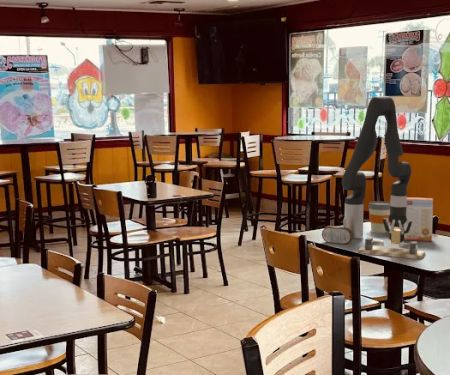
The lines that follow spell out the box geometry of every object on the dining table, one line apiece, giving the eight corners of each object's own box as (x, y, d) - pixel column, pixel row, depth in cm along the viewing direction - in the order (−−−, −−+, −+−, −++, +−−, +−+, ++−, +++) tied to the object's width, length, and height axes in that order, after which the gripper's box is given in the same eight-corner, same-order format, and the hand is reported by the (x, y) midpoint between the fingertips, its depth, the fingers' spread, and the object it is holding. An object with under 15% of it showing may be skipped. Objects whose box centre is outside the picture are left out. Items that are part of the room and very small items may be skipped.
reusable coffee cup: (394, 233, 360) (395, 204, 358) (370, 233, 361) (371, 204, 359) (389, 228, 373) (390, 201, 371) (365, 228, 373) (366, 201, 371)
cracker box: (432, 239, 345) (433, 197, 342) (431, 241, 339) (433, 199, 337) (403, 237, 350) (404, 196, 347) (402, 240, 344) (403, 198, 341)
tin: (353, 244, 334) (353, 227, 333) (351, 245, 332) (351, 228, 330) (322, 241, 341) (323, 224, 340) (320, 242, 338) (321, 225, 337)
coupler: (399, 244, 320) (400, 231, 319) (391, 243, 322) (391, 230, 321) (402, 242, 325) (402, 229, 324) (393, 241, 326) (394, 228, 326)
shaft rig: (358, 253, 315) (358, 238, 314) (364, 248, 324) (364, 235, 323) (420, 259, 303) (421, 244, 302) (425, 254, 312) (425, 240, 311)
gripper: (381, 204, 320) (379, 241, 323) (412, 207, 314) (410, 244, 317) (384, 202, 327) (383, 238, 330) (415, 205, 321) (413, 241, 323)
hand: (396, 241), depth 323 cm, fingers closed on coupler, 4 cm apart
